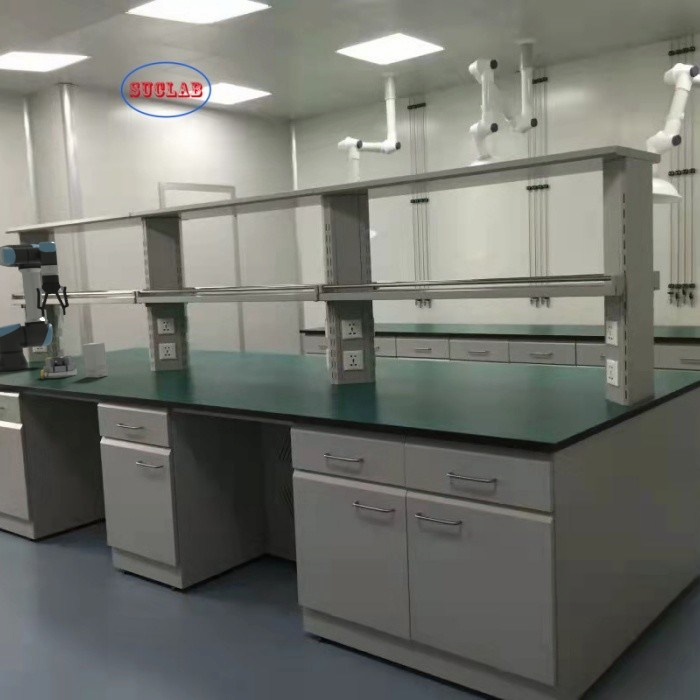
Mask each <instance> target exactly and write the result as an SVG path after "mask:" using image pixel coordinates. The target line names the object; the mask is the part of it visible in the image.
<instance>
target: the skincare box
mask: <svg viewBox="0 0 700 700" xmlns="http://www.w3.org/2000/svg"><path fill="white" fill-rule="evenodd" d="M82 352H83V359H84V366H85V367H84V368H85V376H86V378H97V379H98V378H103V377H107V376H109V372H108V364H107V362H108V361H107V355H106V345H105V342H90V343H84V344H82Z"/></svg>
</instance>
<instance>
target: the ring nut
mask: <svg viewBox="0 0 700 700" xmlns="http://www.w3.org/2000/svg"><path fill="white" fill-rule="evenodd" d="M65 356H66V358H64V359H65V365H63V366H55V365H54V359H52V357H53V356H49V357H48V356H47V357H44V359H45V360H44V361H45V365H43V370H44V372H62V371H70V370H74V369H77V368H76V367H77V365H76V362H74V360H73V356H72V355H65Z"/></svg>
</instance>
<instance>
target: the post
mask: <svg viewBox="0 0 700 700" xmlns="http://www.w3.org/2000/svg"><path fill="white" fill-rule="evenodd" d="M40 377H41V378H40V379H41V380H44V379H46V378H45V374H44V369H41V370H40Z"/></svg>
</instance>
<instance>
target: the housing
mask: <svg viewBox="0 0 700 700" xmlns="http://www.w3.org/2000/svg"><path fill="white" fill-rule="evenodd" d="M66 356H67V355H64V356H63V355H61V356H59V355H58V356H51V357H52V359H54V365H55V366H63V365H65V359H64V358H66ZM44 374H45V379H60V378H70V377H74V375H75V376H77V375H78V369H77V368H76V369H74V370H70V371H62V372H44Z"/></svg>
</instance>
